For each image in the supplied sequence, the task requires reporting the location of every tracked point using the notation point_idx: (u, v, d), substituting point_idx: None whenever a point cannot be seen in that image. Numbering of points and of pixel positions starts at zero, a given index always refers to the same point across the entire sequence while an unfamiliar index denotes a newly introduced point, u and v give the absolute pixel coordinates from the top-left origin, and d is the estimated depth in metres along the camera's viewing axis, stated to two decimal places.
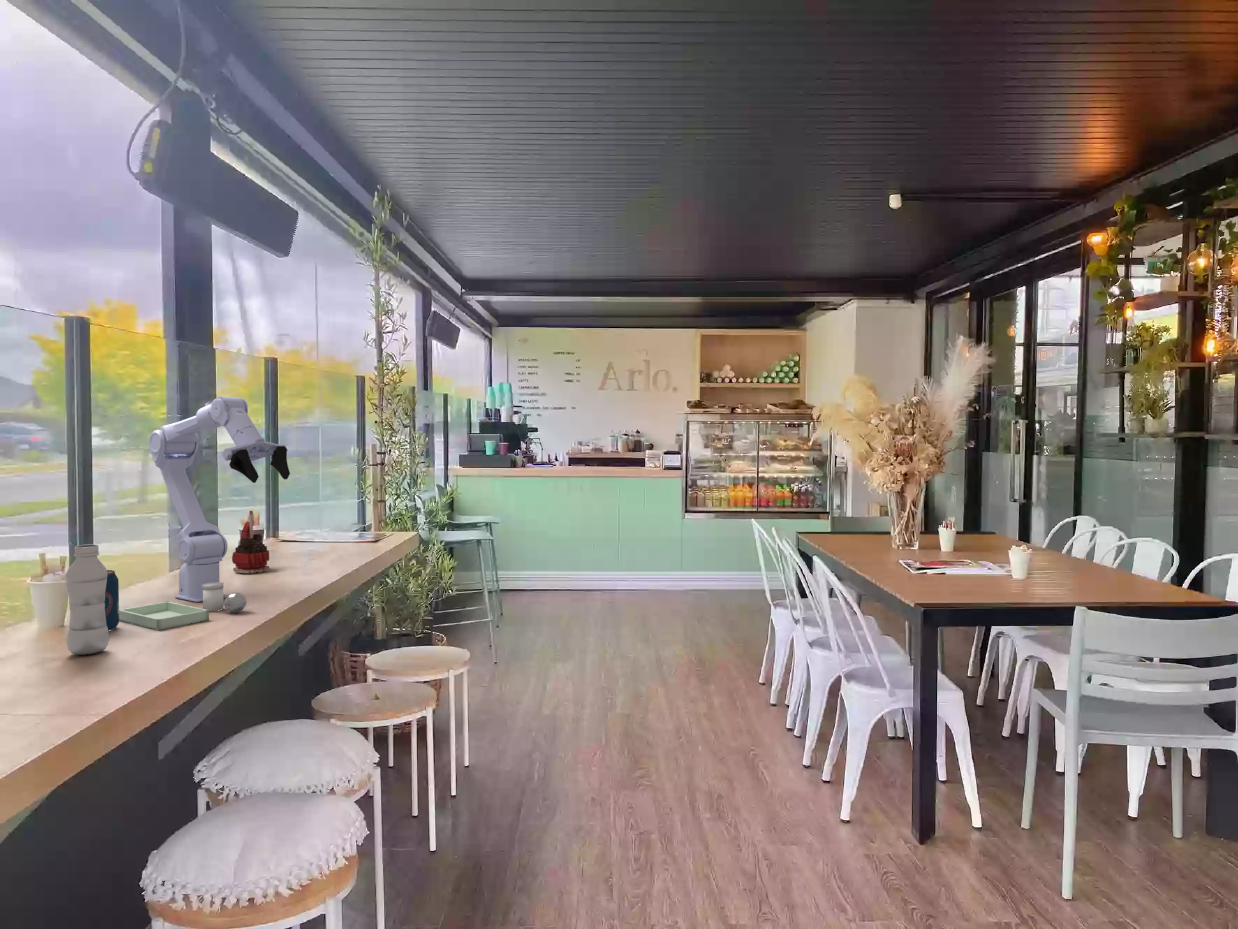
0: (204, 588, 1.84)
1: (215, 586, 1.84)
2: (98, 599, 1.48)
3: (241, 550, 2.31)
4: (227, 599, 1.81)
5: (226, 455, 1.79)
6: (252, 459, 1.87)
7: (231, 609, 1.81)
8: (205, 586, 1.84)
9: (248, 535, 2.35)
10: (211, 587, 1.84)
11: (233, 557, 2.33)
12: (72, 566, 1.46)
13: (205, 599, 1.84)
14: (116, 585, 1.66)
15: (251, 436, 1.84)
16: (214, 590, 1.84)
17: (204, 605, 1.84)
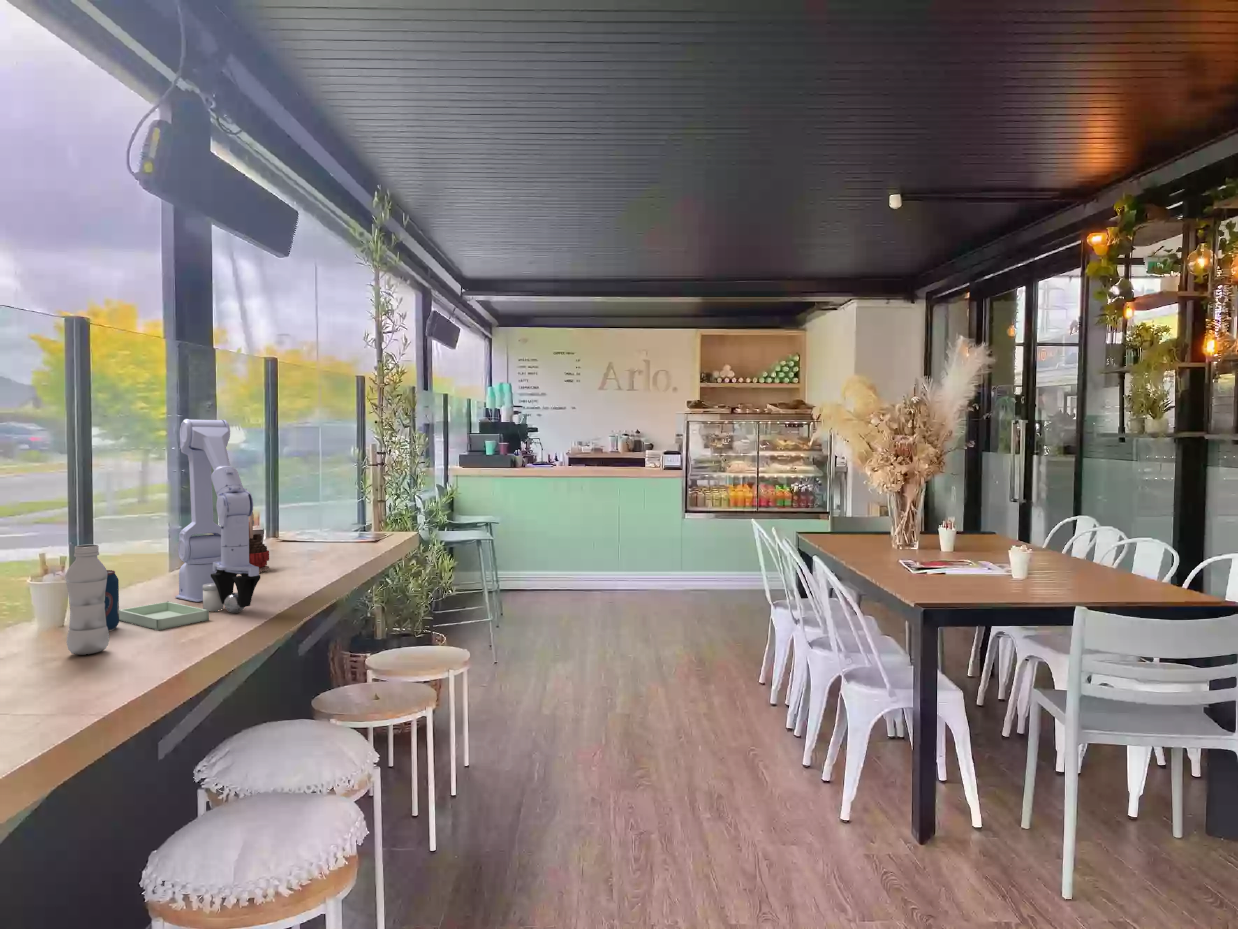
0: (204, 589, 1.84)
1: (215, 587, 1.84)
2: (98, 599, 1.48)
3: None
4: (227, 599, 1.81)
5: None
6: None
7: (231, 609, 1.81)
8: (205, 587, 1.84)
9: None
10: (211, 588, 1.84)
11: None
12: (72, 566, 1.46)
13: (205, 599, 1.84)
14: (116, 586, 1.66)
15: (221, 558, 1.81)
16: (214, 591, 1.84)
17: (204, 606, 1.84)
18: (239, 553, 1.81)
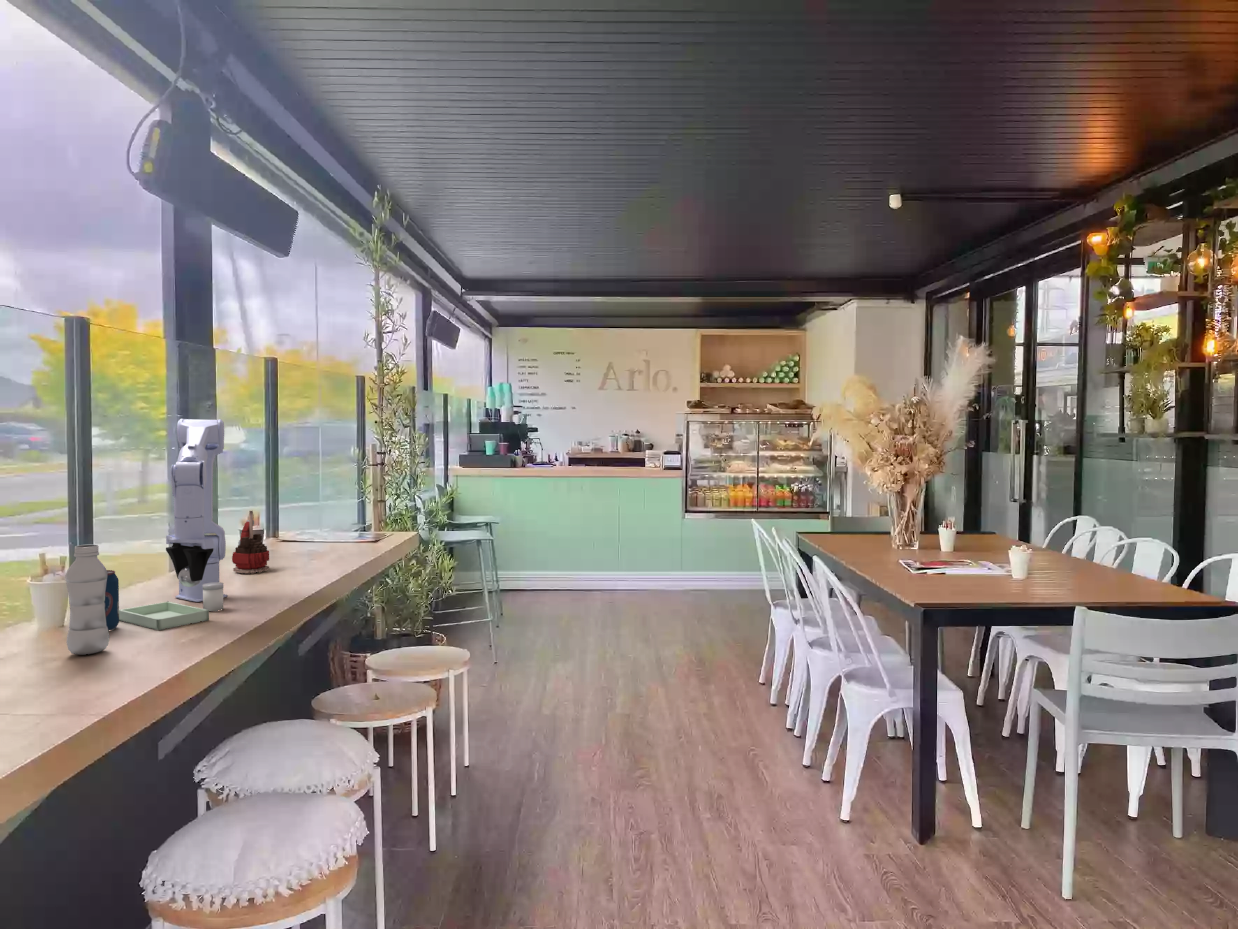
0: (204, 588, 1.84)
1: (215, 586, 1.84)
2: (98, 599, 1.48)
3: (241, 550, 2.31)
4: (181, 572, 1.73)
5: None
6: None
7: (185, 582, 1.73)
8: (205, 586, 1.84)
9: (248, 535, 2.35)
10: (211, 587, 1.84)
11: (233, 557, 2.33)
12: (72, 566, 1.46)
13: (205, 599, 1.84)
14: (116, 586, 1.66)
15: (174, 530, 1.73)
16: (214, 590, 1.84)
17: (204, 605, 1.84)
18: (193, 524, 1.72)
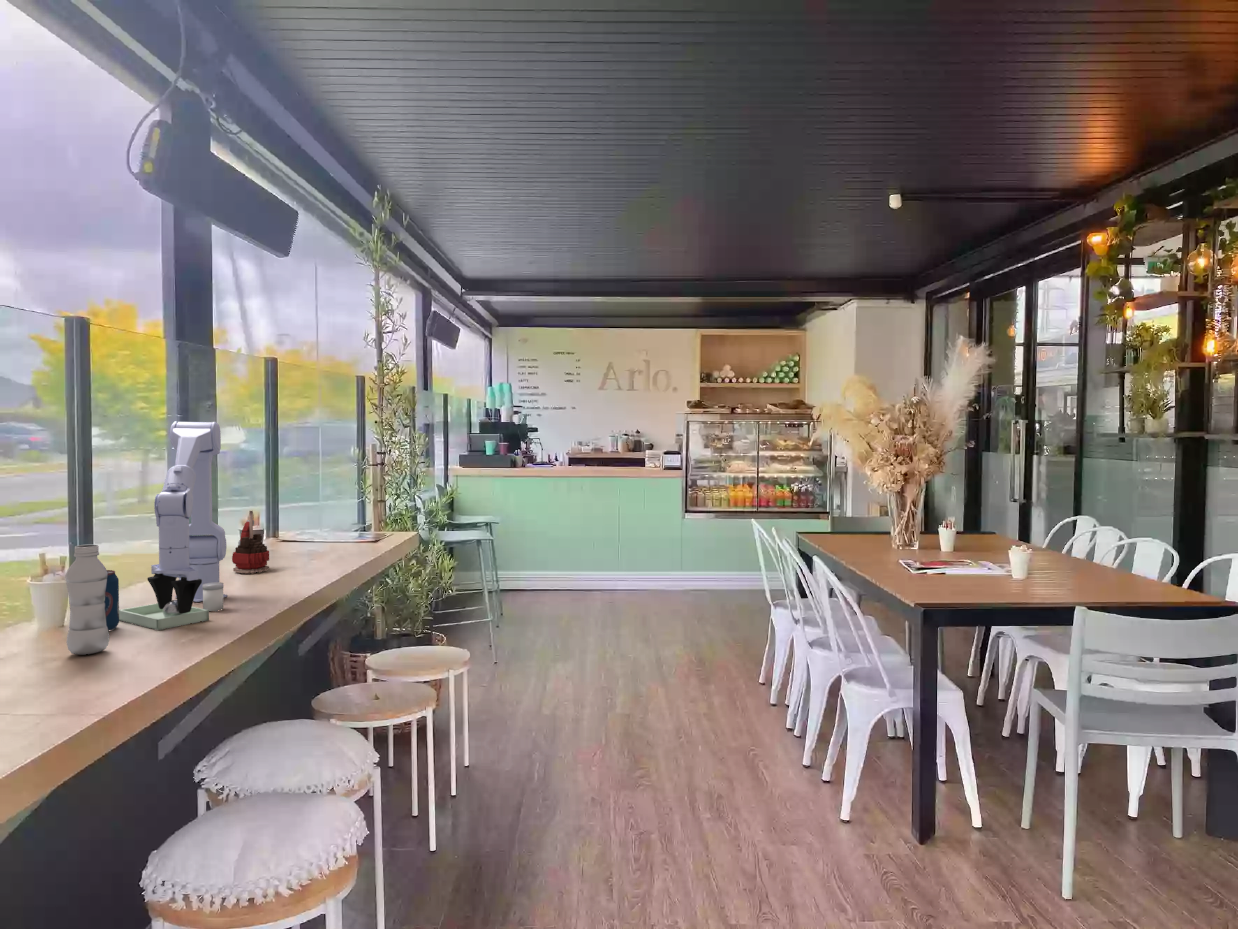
0: (204, 588, 1.84)
1: (215, 586, 1.84)
2: (98, 599, 1.48)
3: (241, 550, 2.31)
4: (165, 607, 1.71)
5: None
6: None
7: None
8: (205, 586, 1.84)
9: (248, 535, 2.35)
10: (211, 587, 1.84)
11: (233, 557, 2.33)
12: (72, 566, 1.46)
13: (205, 599, 1.84)
14: (116, 586, 1.66)
15: (159, 561, 1.71)
16: (214, 590, 1.84)
17: (204, 605, 1.84)
18: (178, 555, 1.70)
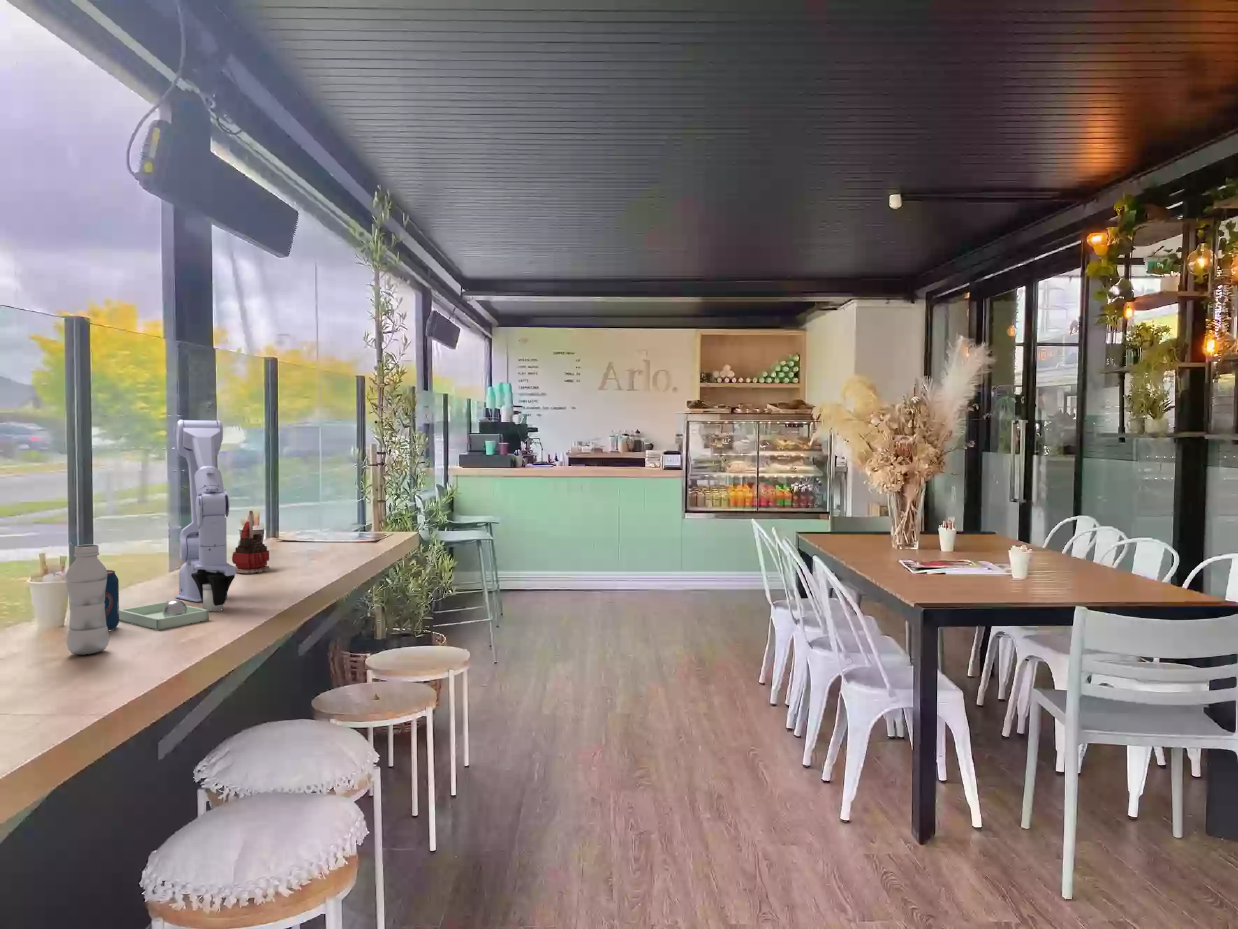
0: (204, 588, 1.84)
1: None
2: (98, 599, 1.48)
3: (241, 550, 2.31)
4: (165, 607, 1.71)
5: None
6: None
7: None
8: (205, 586, 1.84)
9: (248, 535, 2.35)
10: None
11: (233, 557, 2.33)
12: (72, 566, 1.46)
13: (205, 598, 1.84)
14: (116, 586, 1.66)
15: (199, 558, 1.84)
16: None
17: (204, 605, 1.84)
18: (216, 552, 1.83)
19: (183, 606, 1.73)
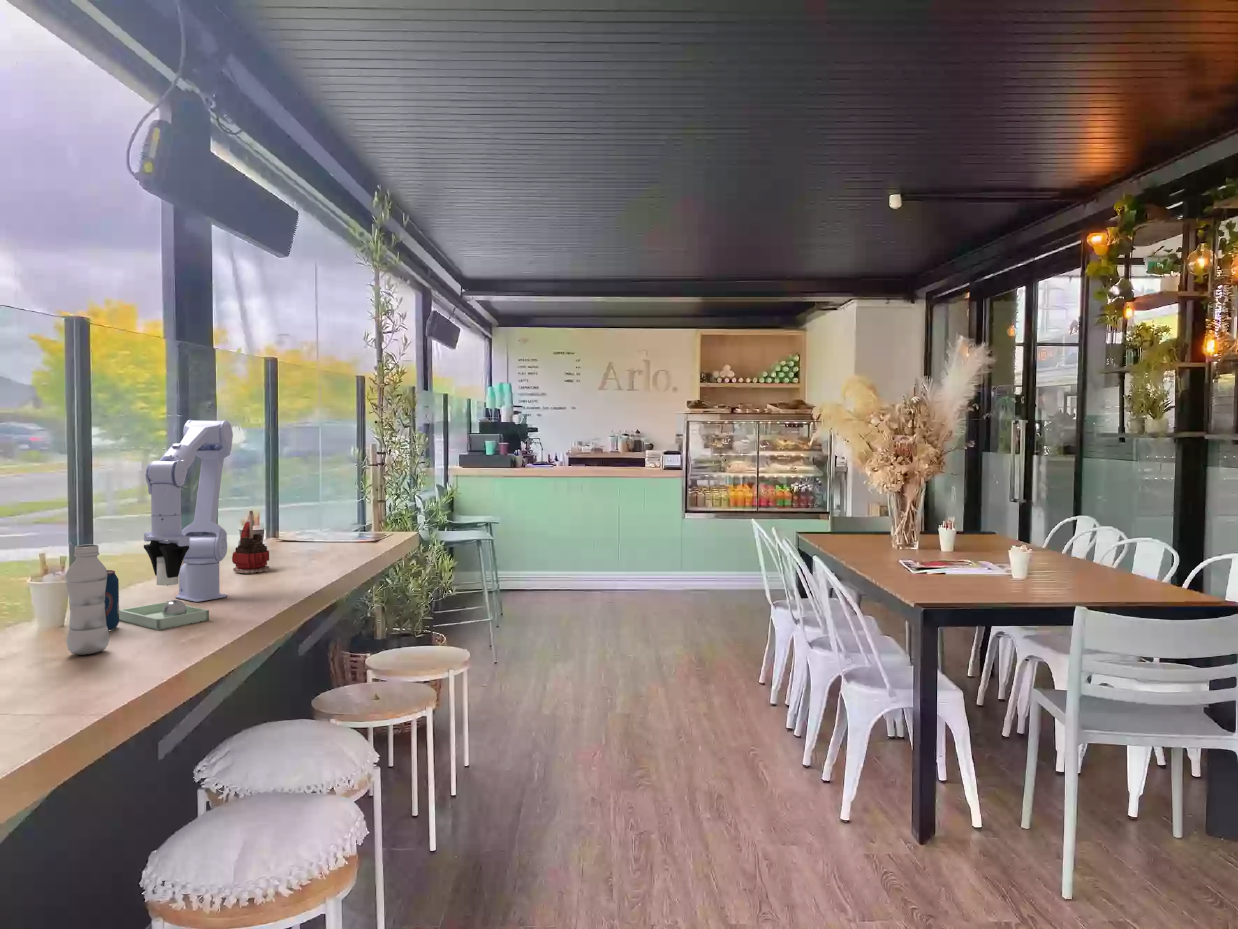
0: (158, 561, 1.77)
1: None
2: (98, 599, 1.48)
3: (241, 550, 2.31)
4: (164, 607, 1.71)
5: None
6: None
7: None
8: (159, 558, 1.77)
9: (248, 535, 2.35)
10: None
11: (233, 557, 2.33)
12: (72, 566, 1.46)
13: (158, 572, 1.77)
14: (116, 586, 1.66)
15: (151, 528, 1.76)
16: None
17: (157, 578, 1.77)
18: (169, 522, 1.76)
19: (183, 606, 1.73)
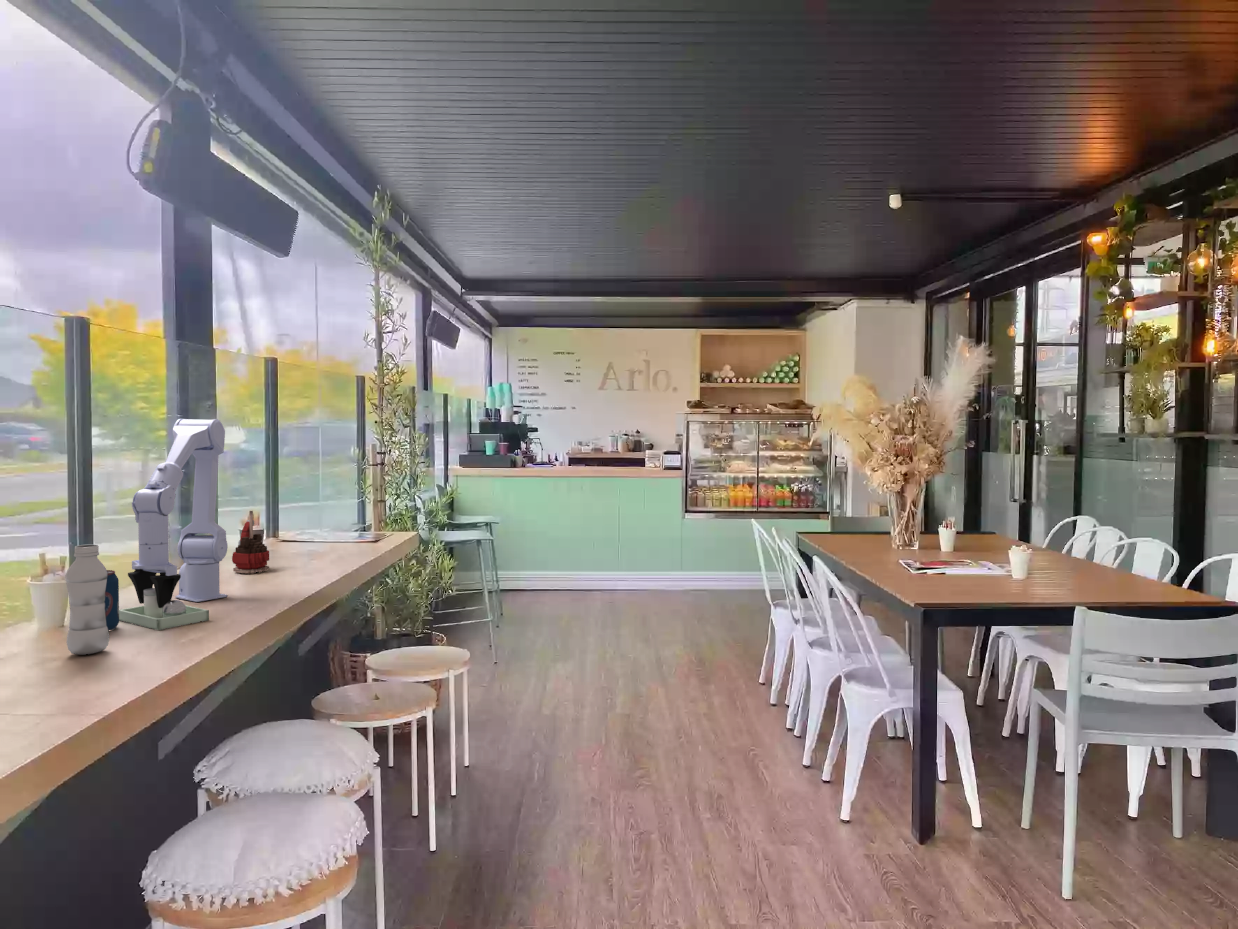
0: (144, 594, 1.75)
1: None
2: (98, 599, 1.48)
3: (241, 550, 2.32)
4: (164, 608, 1.71)
5: None
6: None
7: None
8: (145, 592, 1.75)
9: (248, 535, 2.35)
10: (151, 593, 1.75)
11: (233, 557, 2.33)
12: (72, 566, 1.46)
13: (145, 605, 1.75)
14: (116, 586, 1.66)
15: (139, 557, 1.75)
16: (155, 596, 1.75)
17: (145, 611, 1.76)
18: (157, 551, 1.74)
19: (182, 606, 1.73)
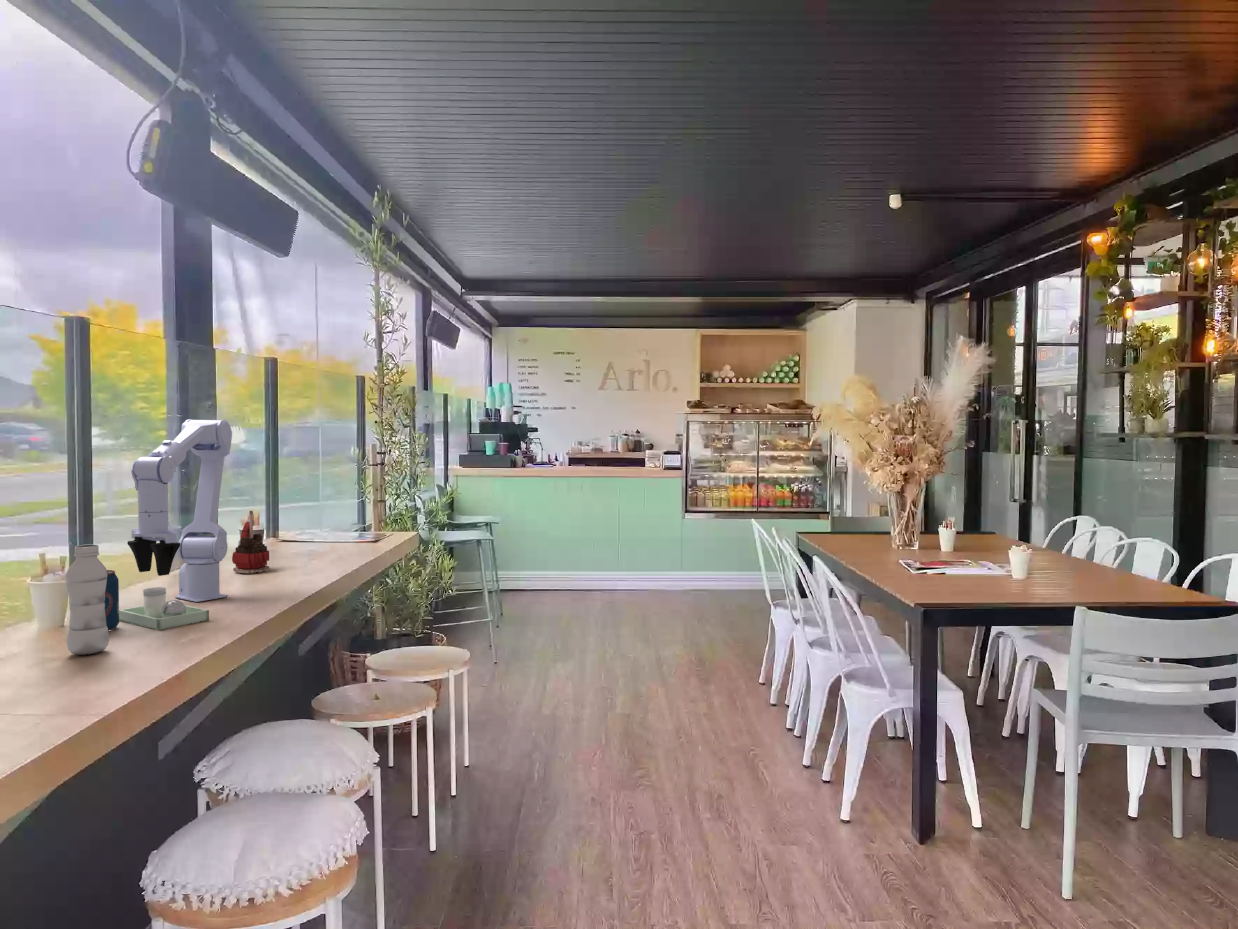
0: (144, 594, 1.75)
1: (156, 592, 1.75)
2: (98, 599, 1.48)
3: (241, 550, 2.31)
4: (163, 608, 1.71)
5: None
6: None
7: None
8: (145, 592, 1.75)
9: (248, 535, 2.35)
10: (152, 593, 1.75)
11: (233, 557, 2.33)
12: (72, 566, 1.46)
13: (145, 605, 1.75)
14: (116, 586, 1.66)
15: (138, 525, 1.75)
16: (155, 596, 1.75)
17: (145, 612, 1.75)
18: (156, 519, 1.74)
19: (182, 605, 1.73)
